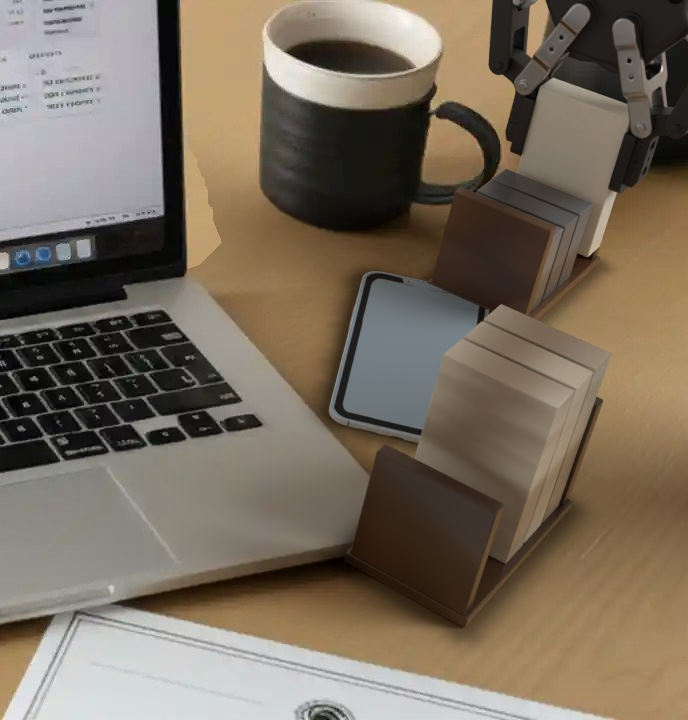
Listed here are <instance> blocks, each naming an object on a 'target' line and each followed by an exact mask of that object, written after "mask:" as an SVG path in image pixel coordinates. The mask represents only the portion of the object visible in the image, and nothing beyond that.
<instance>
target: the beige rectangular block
mask: <svg viewBox="0 0 688 720" xmlns="http://www.w3.org/2000/svg"><path fill="white" fill-rule="evenodd" d="M629 130H630V123H629V115H628V106H627V103H626V102H623V101H619V100H617V99H614V98H612V97H609V96H605V95H603V94H600V93H597V92H595V91H591V90H589V89H586V88H583V87H581V86H577V85H574V84H572V83H569V82H566V81H564V80H561V79H559V78H555V77H552V78H551V79H550V80H549V81H547V82H546V83H544V84H543V85H541V86H540V88H539V92H538V95H537V99H536V104H535V108H534V111H533V115H532V119H531V122H530V126H529V129H528V133H527V137H526V140H525V144H524V148H523V151H522V155H521V156H520V158H519V161H518V166H517V169H516V172H515V173H518V174H520V175H523V176H525V177H528V178H530V179H533V180H535V181H538V182H540V183H543V184H545V185H548V186H550V187H553V188H555V189H558V190H560V191H563V192H565V193H568V194H570V195H573V196H575V197H578V198H580V199H582V200H585V201H587V202H590V203H592V204H593V206H592V209H591V212H590V215H589V218H588V221H587V224H586V227H585V231H584V234H583V237H582V240H581V243H580V246H579V249H578V252H577V253H578V254H580V255H583V256H585V257H588V256H590V255H591V254H592V253H593V252H594V251H595V250H596V249H598V248H599V247H600V248H601V246H600V244H601V245H602V243H601V241H602V242H603V240H602V238H603V239H604V237H603V235H604V236H605V234H604V232H605V233H606V231H605V228H606V225H607V226H608V224H607V222H608V223H609V221H608V219H609V220H610V218H609V216H610V217H611V215H610V213H611V214H612V212H611V209H612V206H613V203H614V200H615V197H616V192H614V191H611V190H609V189H608V186H609V182H610V179H611V176H612V173H613V169H614V166H615V163H616V160H617V157H618V153H619V150H620V147H621V144H622V140H623V137H624V134H625V133H626V132H628V131H629ZM616 198H617V197H616ZM615 201H616V200H615ZM614 204H615V203H614ZM613 207H614V206H613ZM612 210H613V209H612ZM606 229H607V228H606Z"/></svg>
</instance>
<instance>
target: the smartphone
mask: <svg viewBox="0 0 688 720" xmlns="http://www.w3.org/2000/svg"><path fill="white" fill-rule="evenodd" d="M427 282H428V280H422V279H417V278H414V277H413V278H412V277H408V276H403V275H400V274H394V273H391V272H390V273H389V272H385V271H378V270H372V271H368V272H366V273H365V274H363V276H362V278H361V282H360V286H359V289H358V293H357V296H356V300H355V304H354V305H353V306H354V307H353V310H352V314H351V317H350V321H349V325H348V333H347V337H346V341H345V345H344V349H343V351H342V355H341V359H340V364H339V367H338V371H337V374H336V379H335V383H334V387H333V390H332V391H333V392H332V395H331V399H330V403H329V407H328V414H329V416H330V417H331V419H332V420H333V421H334V422H336V423H337V424H339V425H343V426H346V427H349V428H353V429H357V430H363V431H367V432H371V433H375V434H378V435H383V436H387V437H394V438H399V439H403V440H404V441H409V442H410V443H411V442H412V443H415V444H419V441H420V437H421V434H422V430H423V426H424V423H425V419H426V416H427V412H428V408H429V405H430V401H431V398H432V394H433V390H434V387H435V383H436V380H437V376H438V372H439V369H440V365H441V362H442V358H443V355H444V354H445V353H446V352H447V351H448V350H449V349H450V348H452V347H453V346H454V345H455V344H456V343H457V342H458V341H460V340H461V339H464V336H465V335H467V334H468V333H469V332H470V331H471V330H472V329H473V328H475V327H476V326H477V325H478V324H479V323H480V322H483V321H484V319H485V318H486V317H487V316H488V315H489V310H487V309H485V308H483V307H480V306H478V305H476V304H474V303H471V302H469V301H467V300H465V299H462V298H460V297H458V296H456V295H453V294H451V293H449V292H447V291H445V290H443V289H440V288H438V287H436V286H434V285H431V284H429V283H427Z"/></svg>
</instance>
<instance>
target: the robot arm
mask: <svg viewBox="0 0 688 720" xmlns="http://www.w3.org/2000/svg"><path fill="white" fill-rule="evenodd" d="M491 1H492V2H491V17H490V31H489V33H490V34H489V49H488V63H487V65H488V68H489V71H490V72H491V73H492V74H494V75H495V76H503V77H504V78H506V79H507V80H508V81H510V83H511V84H512V85H513V87H514V91H515V92H514V97H513V101H512V105H511V108H510V112H509V116H508V119H507V123H506V127H505V131H504V133H505V141H507V142H510V143H511V144H510V147H509V152H510V153H512V154H515V155H517V156H520V157H521V155H522V151H523V148H524V144H525V140H526V137H527V133H528V129H529V126H530V122H531V119H532V115H533V111H534V108H535V104H536V99H537V95H538V92H539V88H540V86H541V85H543V84H544V83H546V82H547V81H549V80H550V79H552V78H554V76H555V74H556V73H557V72H558V71H559V69H560V68H561V67H562V66H563V65H564V63H566V61H567V60H568V59H569V58H571V59H574V60H577V61H580V62H588V63H595V64H597V65H598V66H600V67H602V68H604V70H606V71H607V72H611V73H613V74H617V75H619V79H620V80H619V81H620V88H621V95H622V97H623V98H624V99H625V100H626V104H627V106H628V115H629V123H630V130H629V131H628V132H626V133H625V134H624V137H623V140H622V144H621V147H620V150H619V153H618V157H617V160H616V163H615V166H614V169H613V173H612V176H611V179H610V182H609V186H608V189H609V190H611V191H614V192H616V193H618V194H619V195H621V194H623V193H624V192H625V191H627V189H629V188H631V189H632V188H634V187H635V186H636V185H638V183H640V182H641V181H642V180H643V179H644V178H645V177H646V175H648V173H649V169H650V166H651V163H652V160H653V157H654V154H655V151H656V147H657V145H658V142H659V139H660V137H661V136H663V137H664V136H665V137H666V136H667V137H668V138H671V139H673V140H674V139H675V140H677V139H682V138H683V137H684V136H686V135H687V134H688V83H687V84H686V85H685V87H684V89H683V90H682V93H681V94H680V96H679V98H678V100H677V101H676V103H675V106H668V100H667V91H666V83H667V81H668V66H667V65H668V64H667V58H666V56H667V55H666V52H667V51H669V50H670V49H671V48H673V47H674V46H676V44H677V45H678V43H680V42H681V41H682V40H686V41H687V42H688V0H545V4H546V6H547V9H548V12H549V15H550V18H551V21H552V24H553V26H554V28H553V30H552V31H551V33H550V34H549V35H548V36H547V37H546V39H545V40H544V41H543V42H542V43H541V45H539V47H538V48H537V50H535V52H534V53H533V54H532V57H531V56H530V55H529V54H527V51H528V50H527V49H528V38H529V26H530V25H529V24H530V11H531V6H533V5H535V4H536V3H537V2H538V0H491Z"/></svg>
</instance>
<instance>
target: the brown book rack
mask: <svg viewBox="0 0 688 720" xmlns="http://www.w3.org/2000/svg"><path fill="white" fill-rule="evenodd" d="M611 357H612V352H609V351H607V350H605V349H604V348H601V347H599V346H596V345H594V344H592V343H590V342H588V341H586V340H583V339H581V338H579V337H576V336H575V335H572V334H569V333H568V332H565V331H563V330H560V329H559V328H556V327H553V326H551V325H550V324H547V323H544V322H543V321H540V320H539V319H538V320H536V319H534V318H531V317H529V316H527V315H525V314H522V313H520V312H518V311H516V310H513V309H511V308H509V307H507V306H504V305H502V304H501V305H499V306H498V307H497V308H496V309H495V310H494V311H493V312H491V313H490V314H489V315H488V316H487V317H486V318H485V319H484V321H483V322H480V323H479V324H478V325H477V326H476V327H475V328H473V329H472V330H471V331H470V332H469V333H468V334H467V335H465V336H464V339H461V340H460V341H458V342H457V343H456V344H455V345H454V346H453V347H452V348H450V349H449V350H448V351H447V352H446V353H445V354H444V355H443V358H442V362H441V365H440V369H439V372H438V376H437V380H436V383H435V387H434V390H433V394H432V398H431V401H430V405H429V408H428V412H427V416H426V419H425V423H424V426H423V430H422V434H421V437H420V441H419V443H417V444H418V445H417V448H416V451H415V455H414V457H412V456H410V455H408V454H406V453H405V452H402V451H400V450H398V449H396V448H394V447H392V446H390V445H388V444H387V443H385V444H383V445H382V446H381V447H380V448H378V450H377V451H376V452H375V456H374V460H373V464H372V468H371V470H370V474H369V479H368V483H367V487H366V491H365V494H364V499H363V503H362V505H361V510H360V514H359V518H358V522H357V526H356V530H355V533H354V537H353V541H352V545H351V547H350V548H349V549H347V551H346V552H345V556H344V559H343V562H344V563H346V564H348V565H349V566H351V567H353V568H354V569H357V570H358V571H360V572H362V573H364V574H365V575H367V576H369V577H371V578H373V579H375V580H376V581H378V582H379V583H382V584H384V585H385V586H387V587H389V588H391V589H393V590H395V591H396V592H398V593H400V594H402V595H403V596H405V597H408V598H409V599H410V600H412V601H414V602H416V603H418V604H420V605H422V606H423V607H425V608H427V609H429V610H431V611H432V612H434V613H436V614H438V615H440V616H442V617H444V618H445V619H447V620H449V621H451V622H452V623H454V624H456V625H458V626H460V627H461V628H464V629H465V628H466V627H467V626H468V625H469V624H470V623H471V621H472V620H474V618H476V616H477V615H478V613H480V611H481V610H482V609H483V608H484V607H485V606H486V605H487V604H488V602H489V601H490V600H491V599H492V598H493V597H494V595H495V594H496V593H497V592H498V591H499V590H500V589H501V588H502V587H503V586H504V585H505V583H506V582H507V581H508V580H509V579H510V577H512V575H513V574H514V573H515V572H516V571H517V569H518V568H519V567H520V566H521V565H523V563H524V562H525V561H526V559H527V558H528V557H529V556H530V555H531V554H532V553H533V551H535V549H536V548H537V547H538V546H539V545H540V543H541V542H542V541H543V540H544V539H545V538H546V537H547V536H548V535H549V533H550V532H551V531H553V529H554V528H555V526H556V525H557V524H558V523H559V522H560V521H561V520H562V519H563V518H564V516H566V514H567V513H568V512H569V511H570V510H571V506H572V504H573V500H572V499H570V497H571V494H572V490H573V488H574V485H575V483H576V480H577V478H578V474H579V471H580V469H581V465H582V463H583V460H584V457H585V454H586V452H587V449H588V446H589V443H590V440H591V437H592V434H593V432H594V429H595V426H596V423H597V420H598V418H599V416H600V412H601V409H602V406H603V403H604V399H603V398H601V397H599V396H598V394H599V391H600V388H601V385H602V382H603V380H604V378H605V377H604V376H605V374H606V371H607V368H608V365H609V362H610V359H611Z"/></svg>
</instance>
